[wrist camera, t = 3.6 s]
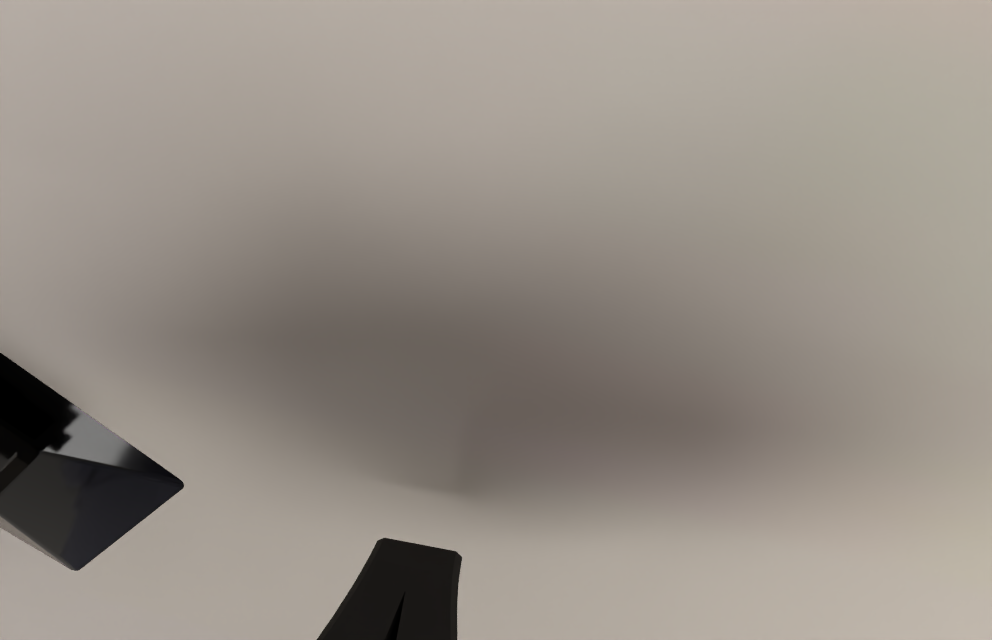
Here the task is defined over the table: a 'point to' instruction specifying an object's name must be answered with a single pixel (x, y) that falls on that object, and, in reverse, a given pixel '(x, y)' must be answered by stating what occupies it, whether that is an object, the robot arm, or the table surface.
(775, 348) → the table surface
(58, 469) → the black bevelled base
